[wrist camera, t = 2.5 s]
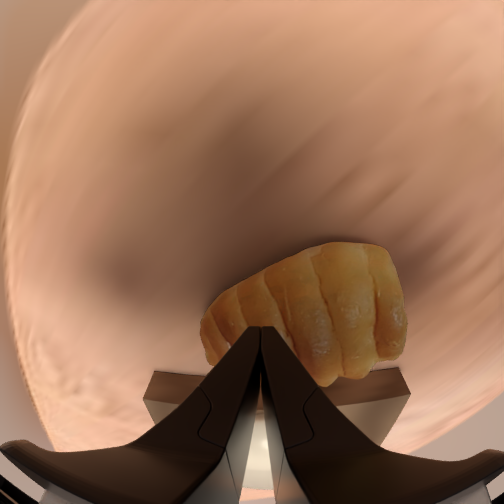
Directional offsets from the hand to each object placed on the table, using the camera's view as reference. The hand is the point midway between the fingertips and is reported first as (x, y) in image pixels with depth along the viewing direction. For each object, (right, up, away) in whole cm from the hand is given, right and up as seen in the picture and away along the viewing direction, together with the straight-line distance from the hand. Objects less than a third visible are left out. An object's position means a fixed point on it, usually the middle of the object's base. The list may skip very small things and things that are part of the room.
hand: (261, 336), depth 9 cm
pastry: (0, +2, +5) cm, 5 cm away
